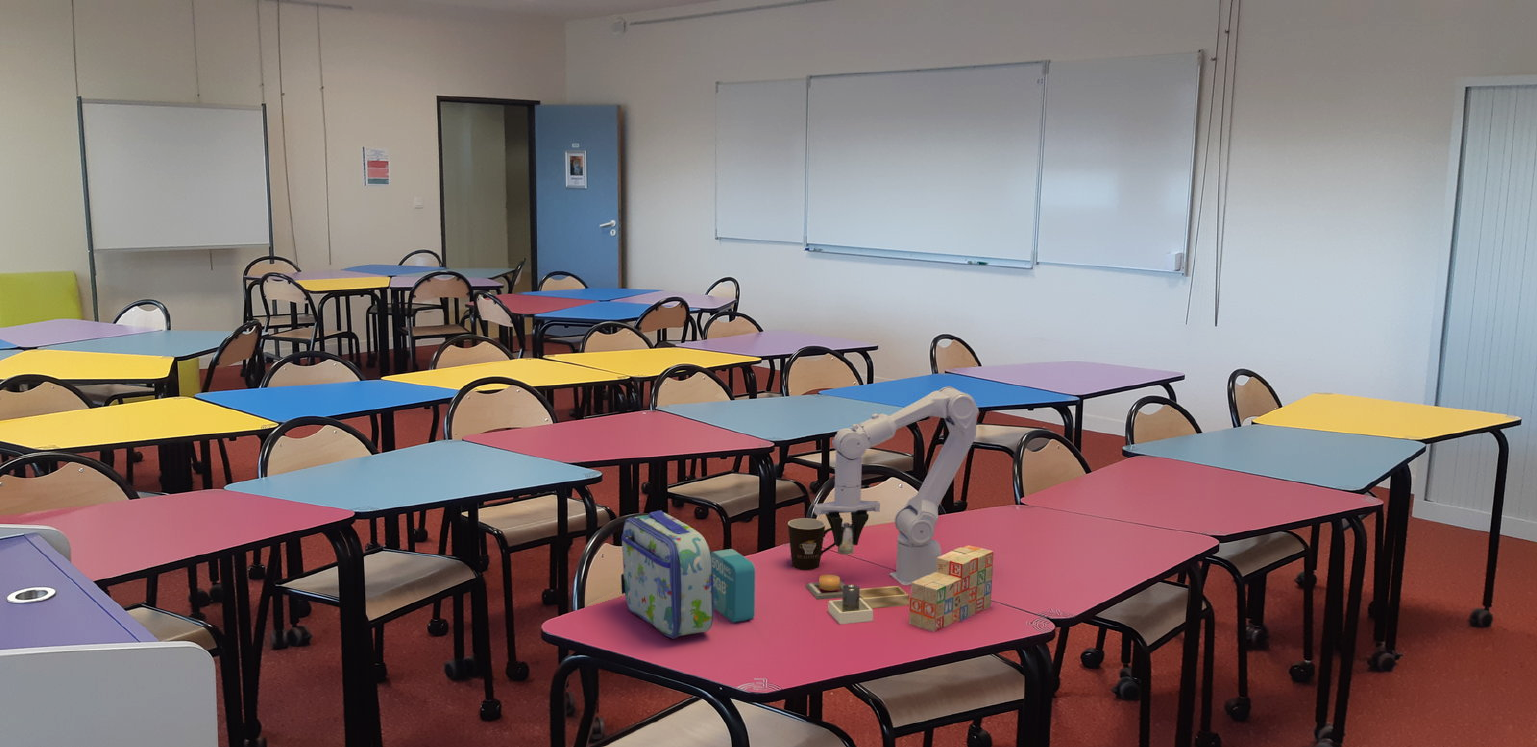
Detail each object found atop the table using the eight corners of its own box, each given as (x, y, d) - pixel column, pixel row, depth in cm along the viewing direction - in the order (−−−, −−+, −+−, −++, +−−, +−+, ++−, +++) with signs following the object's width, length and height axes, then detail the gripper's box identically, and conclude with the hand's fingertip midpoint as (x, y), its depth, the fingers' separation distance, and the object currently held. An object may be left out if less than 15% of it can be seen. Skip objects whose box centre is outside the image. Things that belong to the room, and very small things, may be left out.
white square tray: (860, 610, 226) (860, 597, 225) (872, 623, 219) (873, 610, 218) (828, 613, 224) (828, 600, 223) (839, 626, 217) (840, 613, 217)
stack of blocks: (934, 635, 214) (937, 574, 212) (908, 626, 218) (910, 567, 216) (991, 606, 230) (994, 550, 228) (965, 599, 234) (968, 543, 232)
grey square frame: (840, 585, 240) (840, 579, 240) (853, 598, 232) (853, 591, 232) (805, 588, 238) (805, 582, 238) (817, 601, 230) (817, 594, 230)
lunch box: (615, 604, 227) (615, 506, 224) (663, 596, 232) (663, 500, 229) (667, 649, 205) (667, 541, 201) (718, 639, 210) (719, 533, 207)
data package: (709, 605, 227) (710, 549, 226) (729, 601, 229) (730, 546, 228) (734, 625, 217) (735, 566, 215) (755, 621, 219) (755, 563, 217)
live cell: (850, 549, 242) (851, 520, 241) (855, 553, 239) (856, 525, 238) (835, 550, 242) (836, 521, 241) (840, 554, 238) (841, 526, 237)
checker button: (835, 582, 238) (835, 573, 237) (842, 589, 233) (842, 580, 233) (816, 584, 236) (816, 575, 236) (822, 591, 232) (823, 582, 232)
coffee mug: (782, 569, 250) (783, 526, 249) (792, 557, 259) (793, 516, 257) (832, 574, 247) (833, 532, 246) (840, 563, 255) (842, 521, 254)
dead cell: (855, 612, 223) (856, 581, 222) (861, 618, 220) (862, 587, 219) (839, 613, 222) (840, 583, 221) (845, 619, 219) (846, 588, 218)
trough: (898, 597, 234) (898, 585, 233) (908, 607, 228) (909, 595, 228) (853, 601, 231) (853, 589, 230) (862, 611, 225) (863, 599, 225)
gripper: (872, 478, 244) (870, 536, 246) (810, 481, 240) (808, 540, 242) (884, 486, 237) (881, 546, 239) (820, 489, 233) (818, 550, 235)
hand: (845, 544), depth 240 cm, fingers closed on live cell, 3 cm apart
